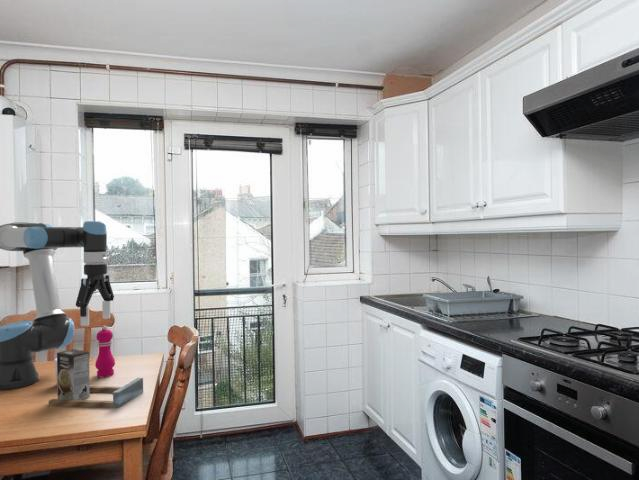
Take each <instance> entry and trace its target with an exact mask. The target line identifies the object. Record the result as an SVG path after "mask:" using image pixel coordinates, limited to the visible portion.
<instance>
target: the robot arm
mask: <svg viewBox="0 0 639 480" xmlns="http://www.w3.org/2000/svg"><path fill="white" fill-rule="evenodd" d="M82 226H83V227H82ZM82 226H54V225H53V224H50V223H43V222H42V223H25V222H24V223H23V222H21V223H17V222H16V223H15V222H13V223H11V222H10V223H5V224H1V225H0V249H1V250H3V251H7V252H22V253H23V257H24V258H25V259H27V260H28V264H29V269H30V276H31V277H30V278H31V283H32V290H33V295H34V302H35V310H36V316H35V317H34V318H33V321H31V320H25V319H24V320H18V321H14V322H10V323H6V324H4V325H3V324H2V326H0V390H1V391H3V390H12V389H20V388H23V387H27V386H30V385H32V384H35V383H37V382H39V379H40V378H39V373H38V371H37V368H36V366H35V364H34V353H40V352H46V351H51V350H57V349H60V348H64V347H67V346H69V345H70V344H71V342H72V341H73V339H74V336H75V323H74V321H73V319H72V318H71V317H67V314H66V312H64V311H63V310H62V307H61V300H60V295H59V289H58V284H57V278H56V272H55V265H54V260H53V256H54V255H55V254H56V251H57V249H59V248H62V249H63V248H83V263H84V265H83V274H84V275H85V276H87V277H85V278H84V277H83V278H81V279H80V286H79V290H78V295H77V299H76V301H75V306H76V307H77V308H80V312H79V313H80V314H79V315H80V326H81V327H89V326H90V307H89V303H90V301H91V299H92V296H93V294H94V292H96V290H97V291H98V292H99V294H100V296H101V298H102V307H101V308H102V320H103V319H104V320H105V319H106V320H107V319H109V320H110V319H111V314H112V313H111V302H113V301H114V299H115V294H114V292H113V288H112V285H111V281H110V276H109V275H107V274H108V264H106V263H107V261H108V260H107V259H108V258H107V257H108V255H107V253H108V252H107V250H108V249H107V248H108V247H107V245H108V243H107V239H108V237H107V233H108V231H107V223H106V221H101V220H95V221H94V220H93V221H92V220H90V221H89V220H87V221H84V222H83V225H82Z"/></svg>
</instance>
